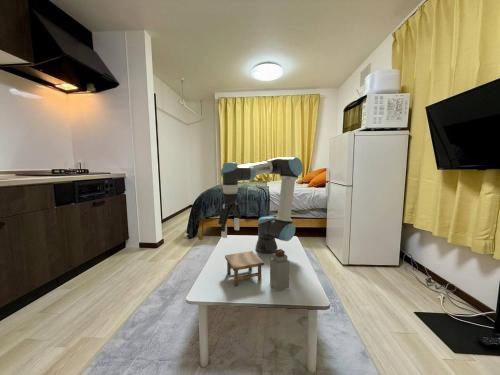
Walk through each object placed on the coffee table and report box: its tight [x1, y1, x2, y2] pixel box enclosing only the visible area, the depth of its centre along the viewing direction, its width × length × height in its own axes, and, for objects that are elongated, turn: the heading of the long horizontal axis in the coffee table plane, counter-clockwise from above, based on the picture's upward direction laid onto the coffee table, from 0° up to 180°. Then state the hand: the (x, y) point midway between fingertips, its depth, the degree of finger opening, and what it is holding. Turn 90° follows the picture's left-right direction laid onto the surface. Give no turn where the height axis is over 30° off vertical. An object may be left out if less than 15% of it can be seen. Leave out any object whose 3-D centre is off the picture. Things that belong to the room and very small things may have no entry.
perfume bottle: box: [269, 248, 291, 292], centre depth 106 cm, size 7×7×18 cm
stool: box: [224, 250, 265, 287], centre depth 116 cm, size 16×16×10 cm
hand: (230, 233), depth 114 cm, fingers open, 13 cm apart
